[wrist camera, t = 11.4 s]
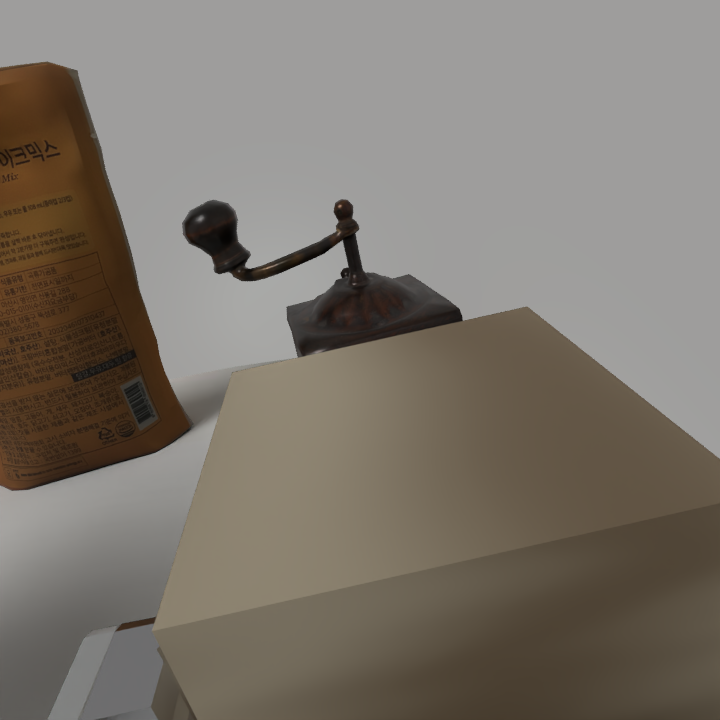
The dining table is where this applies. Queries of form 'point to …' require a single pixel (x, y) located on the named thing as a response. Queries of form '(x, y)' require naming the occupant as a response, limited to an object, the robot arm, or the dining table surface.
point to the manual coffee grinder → (343, 300)
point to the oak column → (447, 540)
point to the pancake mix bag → (69, 297)
